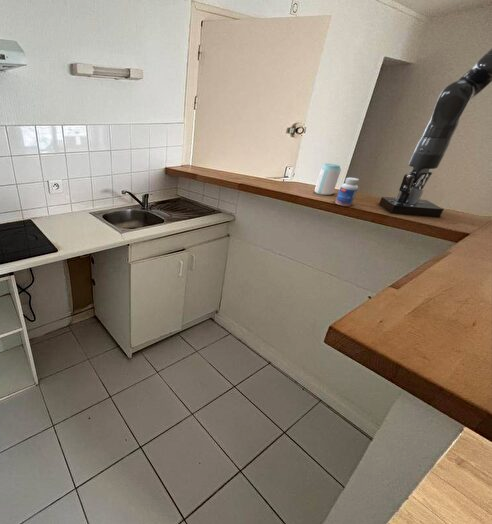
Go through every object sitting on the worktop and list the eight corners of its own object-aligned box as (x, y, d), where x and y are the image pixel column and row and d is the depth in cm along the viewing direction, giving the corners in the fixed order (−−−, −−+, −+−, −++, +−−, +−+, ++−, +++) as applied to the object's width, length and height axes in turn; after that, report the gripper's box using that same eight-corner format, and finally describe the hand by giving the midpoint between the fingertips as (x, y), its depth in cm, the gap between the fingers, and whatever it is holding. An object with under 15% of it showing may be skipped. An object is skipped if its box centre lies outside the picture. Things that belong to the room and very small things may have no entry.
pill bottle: (333, 203, 110) (341, 178, 105) (337, 201, 113) (346, 176, 108) (349, 207, 106) (358, 181, 101) (353, 204, 109) (363, 178, 104)
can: (320, 190, 126) (328, 162, 120) (336, 194, 121) (345, 165, 115) (310, 192, 123) (318, 164, 117) (326, 196, 118) (336, 167, 112)
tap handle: (417, 204, 99) (424, 189, 97) (414, 204, 99) (422, 189, 96) (397, 199, 104) (404, 185, 101) (395, 200, 103) (401, 185, 101)
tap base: (422, 207, 105) (426, 199, 104) (439, 217, 96) (444, 208, 94) (378, 204, 109) (382, 196, 107) (391, 213, 100) (394, 205, 98)
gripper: (433, 155, 87) (407, 208, 95) (453, 152, 93) (427, 202, 101) (404, 151, 93) (382, 202, 101) (425, 149, 98) (402, 197, 107)
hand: (404, 202), depth 101 cm, fingers open, 4 cm apart
